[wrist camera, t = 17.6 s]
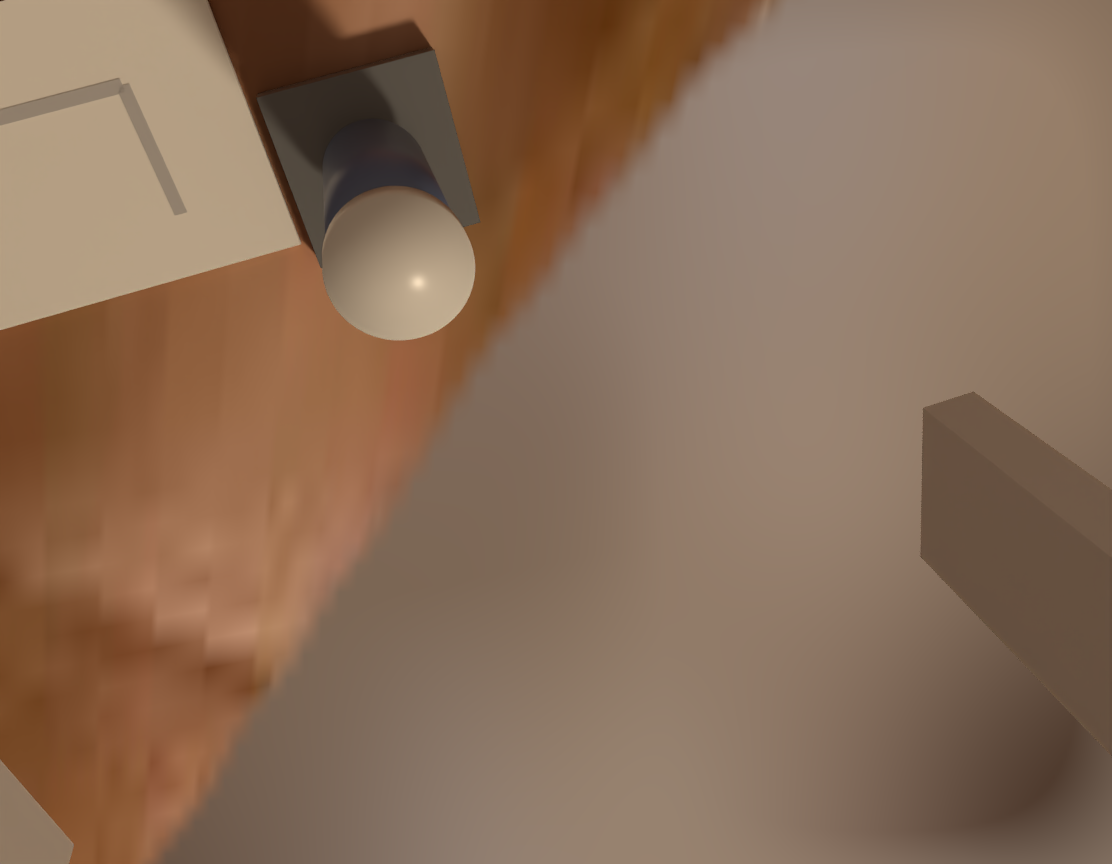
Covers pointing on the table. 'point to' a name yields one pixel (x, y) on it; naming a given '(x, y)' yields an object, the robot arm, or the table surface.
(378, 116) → the coaster
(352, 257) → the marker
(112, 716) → the table surface
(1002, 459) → the robot arm
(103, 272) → the paper
